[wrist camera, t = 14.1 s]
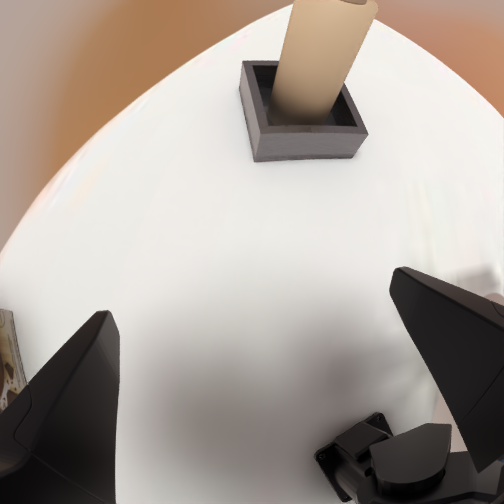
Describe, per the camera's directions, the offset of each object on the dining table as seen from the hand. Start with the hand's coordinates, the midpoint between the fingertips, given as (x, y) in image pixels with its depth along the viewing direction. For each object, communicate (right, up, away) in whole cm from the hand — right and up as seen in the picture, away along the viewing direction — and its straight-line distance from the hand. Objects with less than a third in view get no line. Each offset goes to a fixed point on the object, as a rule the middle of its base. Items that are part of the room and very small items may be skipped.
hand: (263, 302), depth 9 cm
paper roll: (+4, +15, +18) cm, 24 cm away
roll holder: (+4, +14, +19) cm, 24 cm away
